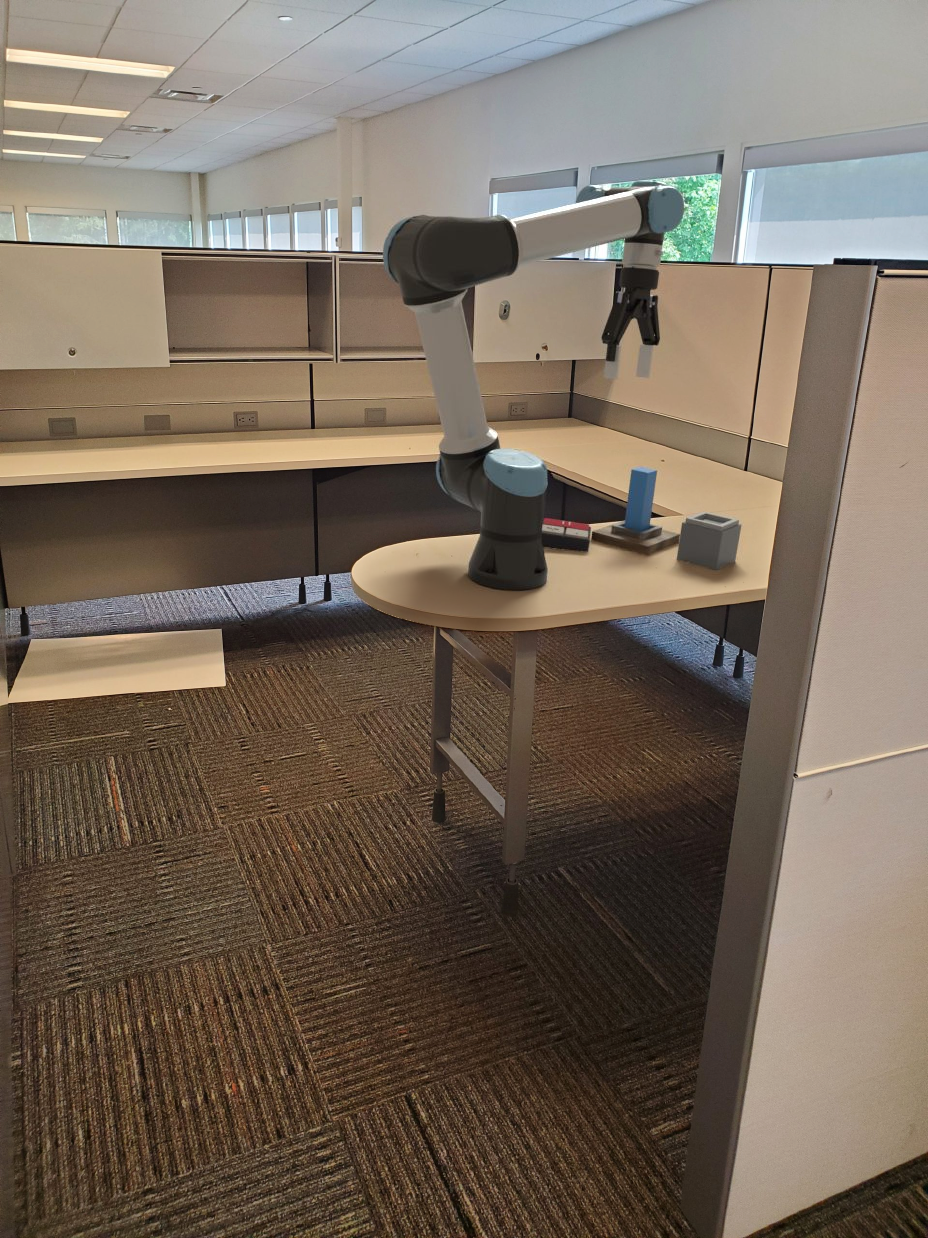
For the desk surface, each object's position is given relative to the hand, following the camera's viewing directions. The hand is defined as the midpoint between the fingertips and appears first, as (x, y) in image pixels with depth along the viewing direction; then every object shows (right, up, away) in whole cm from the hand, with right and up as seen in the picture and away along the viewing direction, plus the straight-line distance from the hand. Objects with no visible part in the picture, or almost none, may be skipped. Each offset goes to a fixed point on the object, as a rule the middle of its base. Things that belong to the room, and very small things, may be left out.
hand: (626, 377), depth 192 cm
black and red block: (-14, -33, +11) cm, 38 cm away
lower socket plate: (+4, -32, +14) cm, 36 cm away
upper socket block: (+17, -37, +4) cm, 41 cm away
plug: (+4, -30, +13) cm, 34 cm away
